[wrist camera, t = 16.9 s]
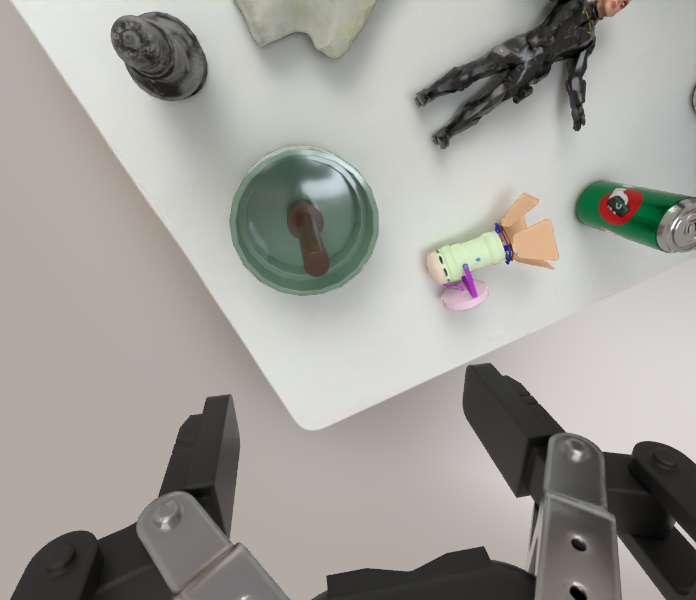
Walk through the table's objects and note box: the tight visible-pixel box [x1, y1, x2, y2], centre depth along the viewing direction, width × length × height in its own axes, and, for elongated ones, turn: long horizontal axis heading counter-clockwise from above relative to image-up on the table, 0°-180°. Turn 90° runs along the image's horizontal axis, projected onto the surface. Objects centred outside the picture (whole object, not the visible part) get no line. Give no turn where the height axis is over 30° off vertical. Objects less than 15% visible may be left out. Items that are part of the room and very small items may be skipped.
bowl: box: [230, 145, 378, 296], centre depth 38 cm, size 13×13×6 cm
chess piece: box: [111, 12, 207, 101], centre depth 28 cm, size 6×6×12 cm
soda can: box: [577, 181, 696, 253], centre depth 40 cm, size 5×5×12 cm
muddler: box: [287, 199, 330, 277], centre depth 33 cm, size 3×3×15 cm
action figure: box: [414, 0, 631, 149], centre depth 36 cm, size 16×4×20 cm
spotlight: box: [427, 193, 559, 311], centre depth 43 cm, size 12×8×8 cm
